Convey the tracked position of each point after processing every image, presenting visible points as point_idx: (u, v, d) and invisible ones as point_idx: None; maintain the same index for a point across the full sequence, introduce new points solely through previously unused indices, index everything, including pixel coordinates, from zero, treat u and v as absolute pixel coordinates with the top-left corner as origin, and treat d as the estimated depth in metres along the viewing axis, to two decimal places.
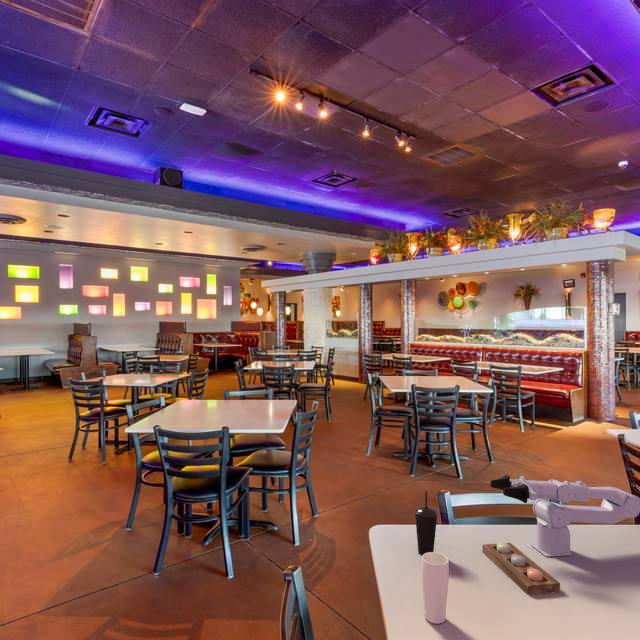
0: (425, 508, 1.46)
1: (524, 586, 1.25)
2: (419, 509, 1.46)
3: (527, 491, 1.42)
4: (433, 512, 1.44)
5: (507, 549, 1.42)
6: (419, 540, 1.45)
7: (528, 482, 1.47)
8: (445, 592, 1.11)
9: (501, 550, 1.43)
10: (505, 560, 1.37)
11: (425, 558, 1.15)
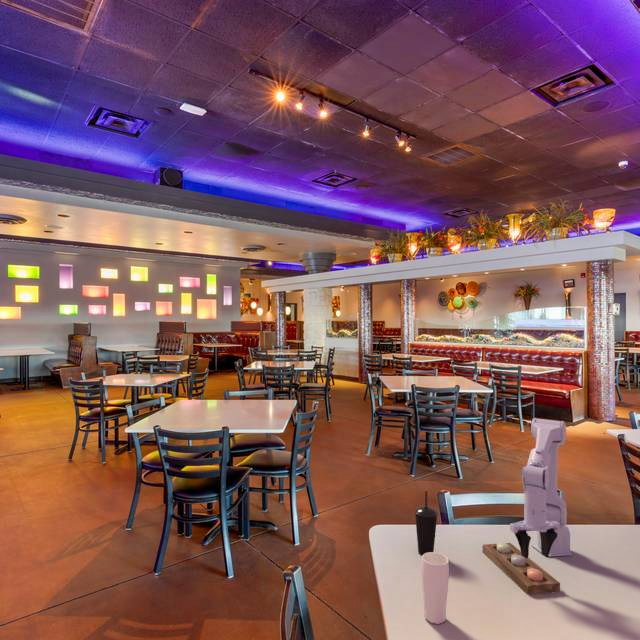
0: (425, 508, 1.46)
1: (524, 586, 1.25)
2: (419, 509, 1.46)
3: None
4: (433, 512, 1.44)
5: (507, 549, 1.42)
6: (419, 540, 1.45)
7: (544, 523, 1.26)
8: (445, 592, 1.11)
9: (501, 550, 1.43)
10: (505, 560, 1.37)
11: (425, 558, 1.15)
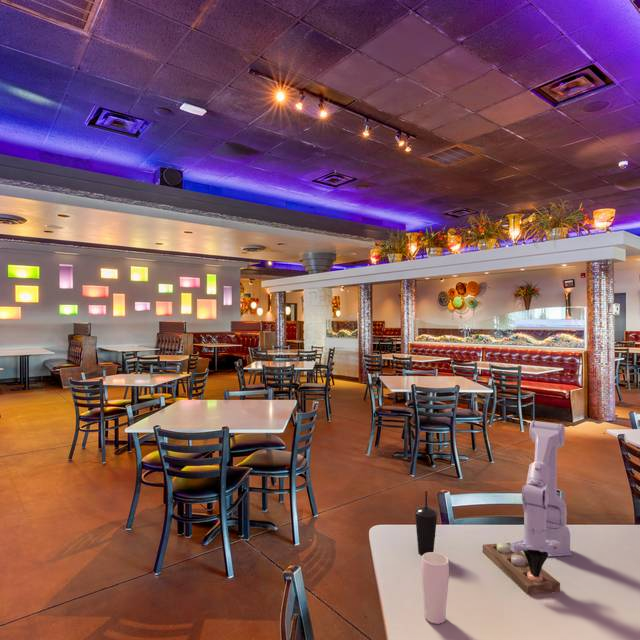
0: (425, 508, 1.46)
1: (524, 586, 1.25)
2: (419, 509, 1.46)
3: None
4: (433, 512, 1.44)
5: (507, 549, 1.42)
6: (419, 540, 1.45)
7: (544, 542, 1.26)
8: (445, 592, 1.11)
9: (501, 550, 1.43)
10: (505, 560, 1.37)
11: (425, 558, 1.15)
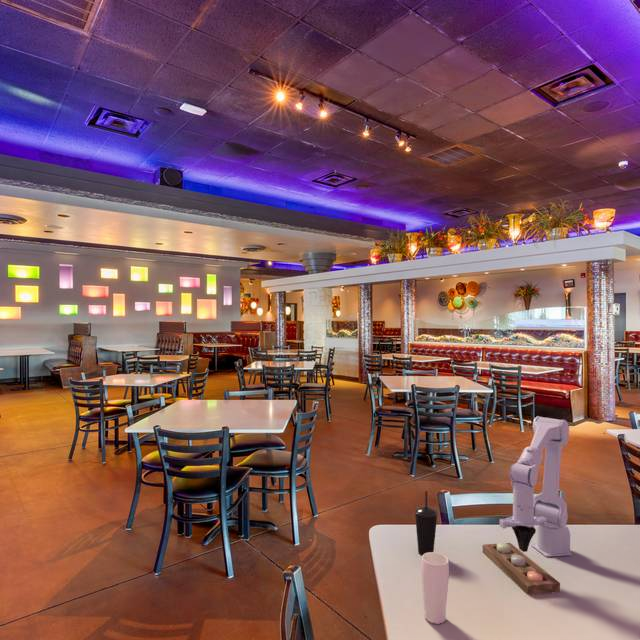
0: (425, 508, 1.46)
1: (524, 586, 1.25)
2: (419, 509, 1.46)
3: None
4: (433, 512, 1.44)
5: (507, 549, 1.42)
6: (419, 540, 1.45)
7: (532, 518, 1.32)
8: (445, 592, 1.11)
9: (501, 550, 1.43)
10: (505, 560, 1.37)
11: (425, 558, 1.15)
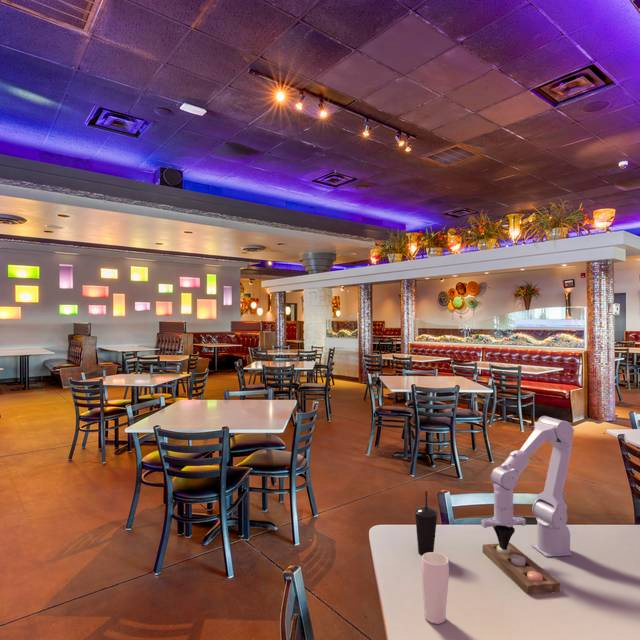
0: (425, 508, 1.46)
1: (524, 586, 1.25)
2: (419, 509, 1.46)
3: None
4: (433, 512, 1.44)
5: (507, 552, 1.42)
6: (419, 540, 1.45)
7: (511, 519, 1.42)
8: (445, 592, 1.11)
9: (501, 553, 1.42)
10: (505, 560, 1.37)
11: (425, 558, 1.15)
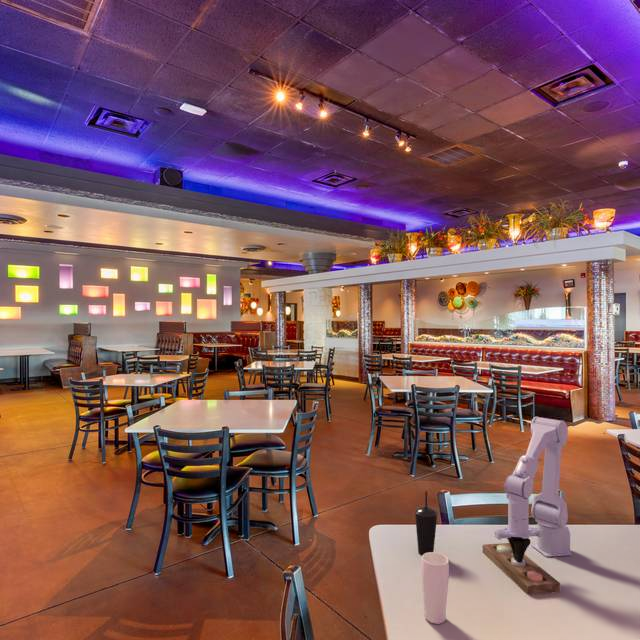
0: (425, 508, 1.46)
1: (524, 586, 1.25)
2: (419, 509, 1.46)
3: None
4: (433, 512, 1.44)
5: (507, 552, 1.42)
6: (419, 540, 1.45)
7: (526, 530, 1.34)
8: (445, 592, 1.11)
9: (501, 553, 1.42)
10: (505, 560, 1.37)
11: (425, 558, 1.15)
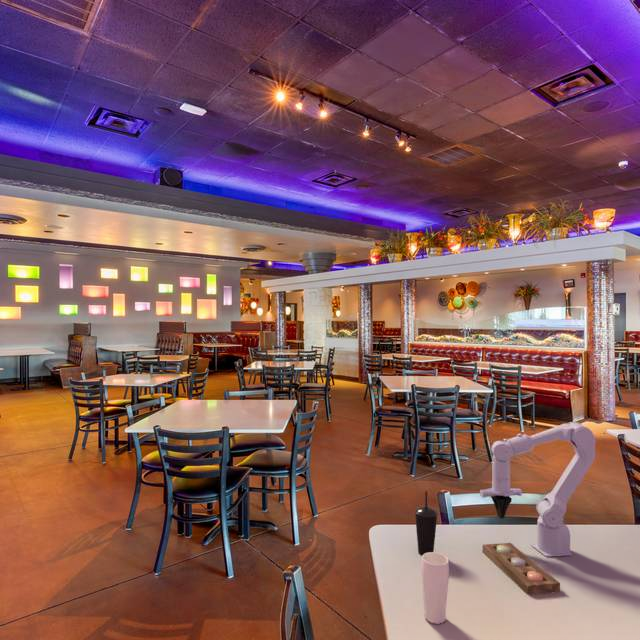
0: (425, 508, 1.46)
1: (524, 586, 1.25)
2: (419, 509, 1.46)
3: None
4: (433, 512, 1.44)
5: (507, 552, 1.42)
6: (419, 540, 1.45)
7: (508, 489, 1.51)
8: (445, 592, 1.11)
9: (501, 553, 1.42)
10: (505, 560, 1.37)
11: (425, 558, 1.15)
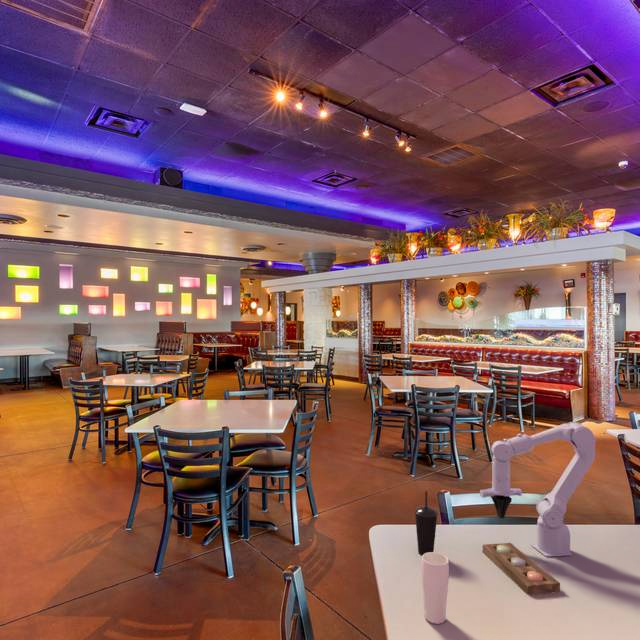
0: (425, 508, 1.46)
1: (524, 586, 1.25)
2: (419, 509, 1.46)
3: None
4: (433, 512, 1.44)
5: (507, 552, 1.42)
6: (419, 540, 1.45)
7: (508, 489, 1.51)
8: (445, 592, 1.11)
9: (501, 553, 1.42)
10: (505, 560, 1.37)
11: (425, 558, 1.15)
